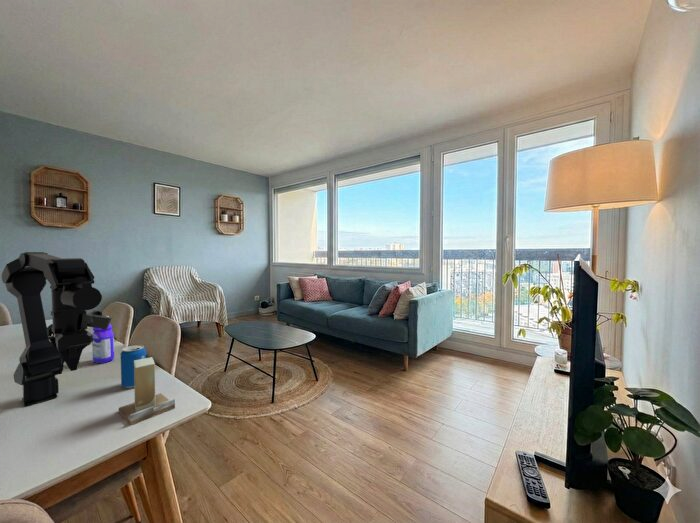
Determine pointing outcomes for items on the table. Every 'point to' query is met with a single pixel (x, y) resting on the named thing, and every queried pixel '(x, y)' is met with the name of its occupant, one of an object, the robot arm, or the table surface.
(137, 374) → the skincare box
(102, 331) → the bottle
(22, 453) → the table surface
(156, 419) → the table surface
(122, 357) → the beverage can
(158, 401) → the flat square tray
